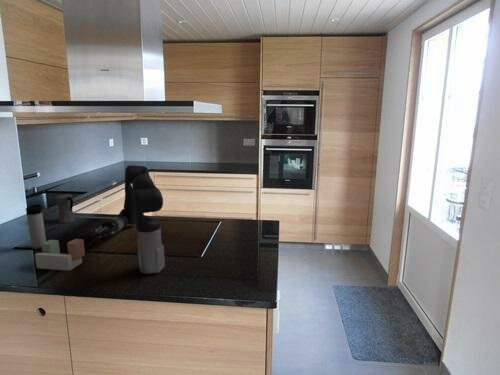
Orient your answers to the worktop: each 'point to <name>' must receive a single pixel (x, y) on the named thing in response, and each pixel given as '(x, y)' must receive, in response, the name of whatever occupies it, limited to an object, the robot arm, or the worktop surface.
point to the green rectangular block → (51, 247)
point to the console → (56, 261)
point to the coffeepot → (65, 208)
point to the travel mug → (36, 226)
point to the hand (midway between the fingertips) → (91, 237)
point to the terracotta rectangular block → (76, 248)
